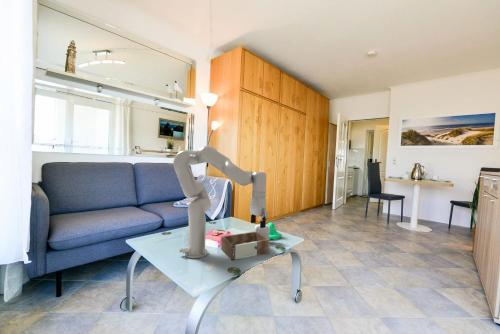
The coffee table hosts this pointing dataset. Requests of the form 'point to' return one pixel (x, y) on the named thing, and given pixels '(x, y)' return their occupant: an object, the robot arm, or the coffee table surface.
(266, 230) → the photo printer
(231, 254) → the brown wooden open box
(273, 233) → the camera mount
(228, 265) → the coffee table surface
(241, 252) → the door
